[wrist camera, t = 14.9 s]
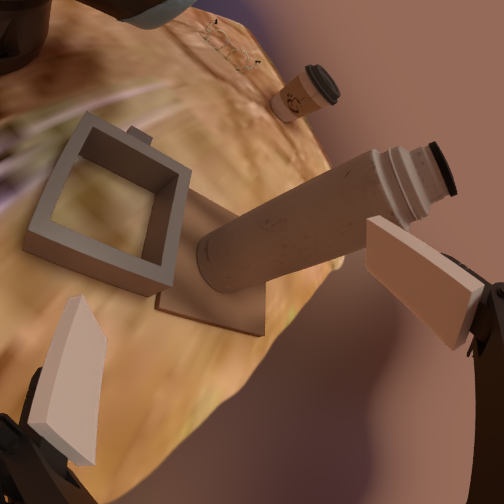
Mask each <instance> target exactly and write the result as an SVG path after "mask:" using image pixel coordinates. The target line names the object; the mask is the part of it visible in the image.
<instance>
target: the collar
mask: <svg viewBox="0 0 504 504" xmlns="http://www.w3.org/2000/svg"><path fill="white" fill-rule="evenodd" d="M152 139H153V138H152V137H151V136H149V135H147V134H146V133H144V132H142V131H140V130H139V129H137V128H135V127H133V126H132V125H131V127H130V128H129V129H128V130H127V132H124V131H123V130H121V129H119V128H117V127H115V126H114V125H112V124H110V123H108V122H106V121H104V120H103V119H101V118H99V117H97V116H95V115H93V114H92V113H90V112H88V111H86V112H85V114H84V116H83V117H82V119H81V121H80V122H79V124H78V126H77V127H76V129H75V131H74V132H73V134H72V136H71V138H70V139H69V141H68V143H67V145H66V147H65V149H64V150H63V152H62V154H61V156H60V158H59V160H58V162H57V164H56V166H55V168H54V170H53V172H52V174H51V176H50V178H49V180H48V182H47V185H46V187H45V189H44V191H43V193H42V196H41V198H40V200H39V203H38V205H37V207H36V210H35V212H34V215H33V217H32V220H31V222H30V225H29V228H28V231H27V234H26V238H25V242H24V245H23V249H22V250H24V251H26V252H28V253H31V254H33V255H35V256H38V257H40V258H43V259H45V260H48V261H50V262H53V263H55V264H58V265H60V266H63V267H65V268H68V269H70V270H73V271H75V272H78V273H81V274H83V275H86V276H89V277H91V278H94V279H97V280H100V281H102V282H105V283H108V284H111V285H113V286H116V287H119V288H122V289H125V290H128V291H131V292H134V293H137V294H140V295H143V296H146V297H149V296H152V295H154V294H157V293H159V292H161V291H164V290H166V289H169V288H171V287H173V280H174V272H175V265H176V259H177V252H178V246H179V239H180V233H181V227H182V221H183V215H184V210H185V204H186V199H187V193H188V188H189V183H190V178H191V173H192V170H190V169H189V168H187V167H185V166H184V165H182V164H180V163H179V162H177V161H175V160H173V159H172V158H170V157H168V156H167V155H165V154H163V153H161V152H160V151H158V150H156V149H154V148H153V147H151V146H150V144H151V141H152ZM78 154H79V155H81V156H83V157H85V158H87V159H89V160H91V161H93V162H95V163H97V164H98V165H100V166H102V167H104V168H106V169H108V170H110V171H112V172H114V173H116V174H118V175H120V176H122V177H124V178H126V179H128V180H130V181H132V182H134V183H136V184H138V185H140V186H141V187H143V188H145V189H147V190H149V191H151V192H153V193H155V194H156V196H155V200H154V204H153V208H152V212H151V217H150V221H149V225H148V230H147V234H146V239H145V244H144V248H143V253H142V258H141V259H140V258H138V257H135V256H133V255H130V254H128V253H126V252H123V251H121V250H118V249H116V248H113V247H111V246H109V245H106V244H104V243H101V242H99V241H97V240H94V239H92V238H90V237H87V236H85V235H82V234H80V233H78V232H76V231H73V230H71V229H69V228H66V227H64V226H62V225H60V224H57V223H55V222H53V221H51V220H50V218H51V215H52V213H53V210H54V208H55V205H56V203H57V200H58V198H59V195H60V193H61V191H62V188H63V186H64V184H65V181H66V179H67V177H68V175H69V173H70V170H71V168H72V166H73V164H74V162H75V160H76V158H77V156H78Z"/></svg>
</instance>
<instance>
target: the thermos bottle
mask: <svg viewBox="0 0 504 504" xmlns="http://www.w3.org/2000/svg"><path fill="white" fill-rule="evenodd" d="M449 194H450V196H451V197H452V196H455V195H457V190H456V186H455V182H454V179H453V176H452V173H451V170H450V168H449V165H448V163H447V161H446V159H445V157H444V155H443V153H442V151H441V150H440V148H439V147H438V145H437V143H436V142H432V143H429V146H426V147H419V148H417V149H415V150H412V151H406V150H405V149H403V148H402V147H400V146H397V147H395V148H393V149H391V148H389V149H388V151H386V152H384V153H381V154H380V153H379V152H378V151H377V150H375V149H372V150H370V151H368V152H365V153H363V154H361V155H359V156H357V157H355V158H353V159H351V160H349V161H347V162H345V163H343V164H341V165H339V166H337V167H335V168H333V169H331V170H329V171H327V172H325V173H323V174H321V175H319V176H317V177H315V178H313V179H311V180H309V181H307V182H305V183H303V184H301V185H299V186H297V187H295V188H293V189H291V190H289V191H287V192H285V193H283V194H281V195H279V196H277V197H276V198H274V199H272V200H270V201H268V202H266V203H264V204H262V205H260V206H258V207H256V208H255V209H253V210H251V211H249V212H247V213H245V214H243V215H241V216H240V217H238V218H236V219H234V220H232V221H230V222H228V223H227V224H225V225H223V226H221V227H219V228H217V229H215V230H214V231H212V232H210V233H208V234H206V235H205V236H204V237H203V238H202V239H201V241H200V243H199V246H198V250H197V261H198V265H199V268H200V271H201V273H202V275H203V277H204V279H205V280H206V281H207V283H208V284H209V285H210V286H211V287H213V288H214V289H216V290H217V291H220V292H222V293H232V292H236V291H239V290H242V289H245V288H248V287H251V286H254V285H257V284H260V283H264V282H267V281H269V280H272V279H275V278H278V277H280V276H283V275H286V274H289V273H293V272H296V271H299V270H303V269H306V268H309V267H312V266H314V265H317V264H320V263H323V262H326V261H329V260H332V259H335V258H338V257H340V256H343V255H346V254H349V253H352V252H354V251H357V250H360V249H363V248H366V230H367V218H370V217H374V216H378V215H380V216H382V217H383V218H385V219H387V220H388V221H390V222H392V223H393V224H395V225H397V226H398V227H400V228H401V229H403V230H405V231H406V232H408V231H409V230H410V223H411V222H413V221H416V220H419V219H420V220H423V218H424V217H426V216H428V215H429V212H430V207H431V204H432V203H434V202H437V201H439V200H442V199H443V198H444V197H445V196H446V195H449Z"/></svg>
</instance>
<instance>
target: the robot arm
mask: <svg viewBox="0 0 504 504" xmlns="http://www.w3.org/2000/svg"><path fill="white" fill-rule="evenodd" d="M76 1H78V2H81V3H83V4H85V5H88V6H90V7H92V8H95V9H97V10H99V11H101V12H104V13H106V14H108V15H110V16H112V17H114V18H116V19H117V20H118V21H121V22H127V23H129V24H131V25H134V26H136V27H138V28H140V29H146V30H151V29H156V28H159V27H161V26H163V25H165V24H167V23H168V22H170V21H171V20H173V19H174V18H176V17H177V16H178V15H180V14H181V13H182V12H184V11H185V10H186V9H187V8H189V7H190V6H191V5H192V4H193V3H195V2H196V1H197V0H76ZM51 3H52V0H0V75H2V74H6V73H9V72H12V71H15V70H17V69H19V68H21V67H23V66H25V65H27V64H28V63H29V62H31V61H32V60H33V59H34V58H35V57H36V56H37V55H38V54H39V52H40V50H41V48H42V46H43V44H44V42H45V39H46V37H47V34H48V27H49V19H50V10H51ZM366 269H367V270H368V271H369V272H370V273H371V274H372V275H373V276H374V277H376V278H377V279H378V280H379V281H380V282H381V283H382V284H383V285H384V286H385V287H387V288H388V289H389V290H390V291H391V292H392V293H393V294H394V295H395V296H396V297H397V298H398V299H399V300H400V301H401V302H403V303H404V304H405V305H406V306H407V307H408V308H409V309H410V310H411V311H412V312H413V313H414V314H415V315H416V316H417V317H418V318H419V319H420V320H421V321H423V323H424V324H426V325H427V327H429V328H430V329H431V330H432V331H433V332H434V333H435V334H436V335H437V336H438V337H439V338H440V339H441V340H442V341H443V342H444V343H445V344H446V345H447V346H448V347H449V348H450V349H451V350H452V351H453V350H455V349H457V348H458V347H460V346H461V345H463V344H464V343H465V342H466V339H467V336H468V334H469V331H470V332H471V333H472V334H473V335H474V337H473V340H472V342H471V345H470V347H469V350H468V352H467V357H469V356H470V353H471V351H472V350H473V356H472V357H474V370H475V396H476V419H475V443H474V456H473V465H472V474H471V481H470V488H469V494H468V499H467V503H466V504H504V283H503V282H499V283H495V284H493V285H491V284H490V283H489V282H487V281H486V280H485V279H483V278H482V277H480V276H479V275H478V274H476V273H475V272H473V271H472V270H471V269H468V268H467V267H466V266H465V265H463V264H461V263H460V262H459V261H458V260H456V259H454V258H453V257H451V256H449V255H446V254H443V253H439V252H437V251H436V250H434V249H433V248H431V247H430V246H428V245H427V244H425V243H424V242H422V241H421V240H419V239H417V238H416V237H414V236H413V235H411V234H409V233H408V232H406V231H405V230H403V229H401V228H400V227H398V226H397V225H395V224H393V223H392V222H390V221H388V220H387V219H385V218H383V217H382V216H380V215H378V216H374V217H370V218H367V230H366ZM107 343H108V340H107V338H106V337H105V335H104V333H103V331H102V330H101V328H100V326H99V324H98V322H97V321H96V319H95V317H94V315H93V313H92V311H91V309H90V307H89V305H88V303H87V301H86V299H85V297H84V295H83V294H81V295H77V296H74V297H70V298H68V301H67V303H66V306H65V308H64V310H63V313H62V315H61V318H60V320H59V323H58V326H57V328H56V331H55V333H54V336H53V339H52V342H51V344H50V347H49V350H48V353H47V356H46V359H45V362H44V365H43V367H40V368H38V369H37V371H36V372H35V374H34V375H33V377H32V379H31V382H30V385H29V390H28V392H27V395H26V398H27V399H25V402H24V406H23V409H22V413H21V417H20V421H19V425H17V424H16V423H15V422H14V421H13V420H12V419H11V418H10V417H9V416H8V415H7V414H4V413H0V504H98V503H97V502H96V501H95V500H94V498H93V497H92V496H91V495H90V493H89V492H88V491H87V490H86V489H85V487H84V486H83V485H82V483H81V482H80V481H79V479H78V478H77V477H76V476H75V474H74V473H73V471H72V470H70V469H69V468H68V467H67V462H68V459H69V460H70V461H71V462H73V463H74V464H75V465H77V466H95V456H96V437H97V423H98V412H99V402H100V392H101V384H102V376H103V369H104V362H105V356H106V349H107ZM4 495H5V496H7V497H8V503H7V502H6V501H5V497H4Z"/></svg>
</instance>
